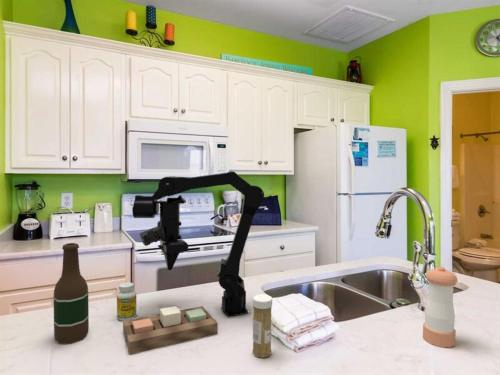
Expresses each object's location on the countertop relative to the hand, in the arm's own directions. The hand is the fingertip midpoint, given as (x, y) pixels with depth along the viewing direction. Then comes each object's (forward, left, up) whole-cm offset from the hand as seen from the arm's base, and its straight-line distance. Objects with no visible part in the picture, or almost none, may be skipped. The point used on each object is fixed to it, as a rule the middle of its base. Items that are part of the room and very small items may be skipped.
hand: (169, 269), depth 99 cm
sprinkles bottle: (-14, +32, -13) cm, 37 cm away
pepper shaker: (-58, +47, -13) cm, 76 cm away
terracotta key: (+10, +13, -12) cm, 20 cm away
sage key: (-4, +13, -12) cm, 18 cm away
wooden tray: (+3, +13, -13) cm, 19 cm away
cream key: (+3, +13, -10) cm, 17 cm away
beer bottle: (+26, +4, -13) cm, 29 cm away
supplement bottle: (+12, -2, -13) cm, 18 cm away
